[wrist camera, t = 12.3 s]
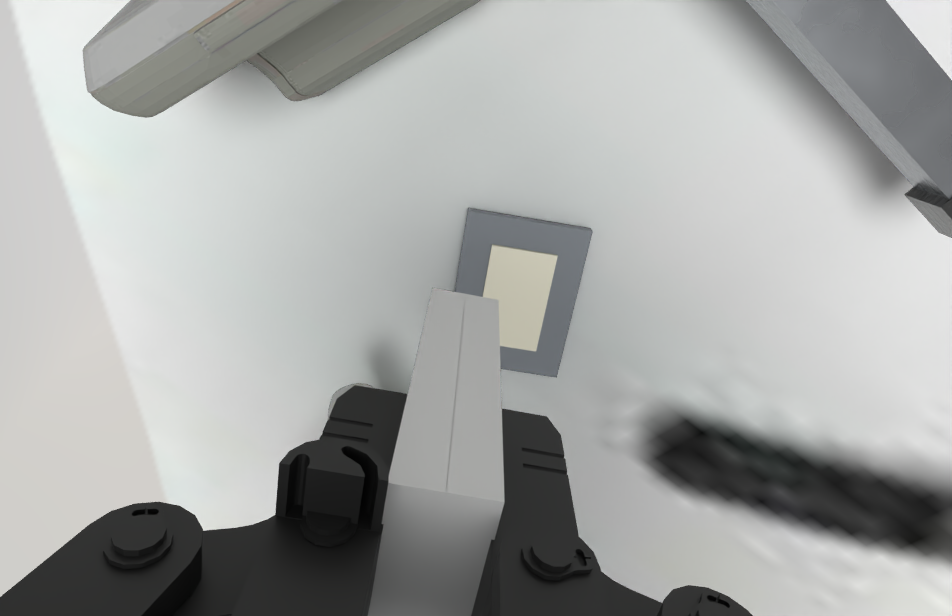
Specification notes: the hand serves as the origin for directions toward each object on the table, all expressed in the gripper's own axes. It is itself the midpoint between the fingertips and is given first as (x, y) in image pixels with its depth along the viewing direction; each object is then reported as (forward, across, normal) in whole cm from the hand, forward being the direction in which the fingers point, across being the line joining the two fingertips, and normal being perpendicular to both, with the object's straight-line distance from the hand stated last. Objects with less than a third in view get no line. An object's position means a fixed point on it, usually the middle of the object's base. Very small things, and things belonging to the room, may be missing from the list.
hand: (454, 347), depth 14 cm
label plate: (+17, -3, +5) cm, 18 cm away
